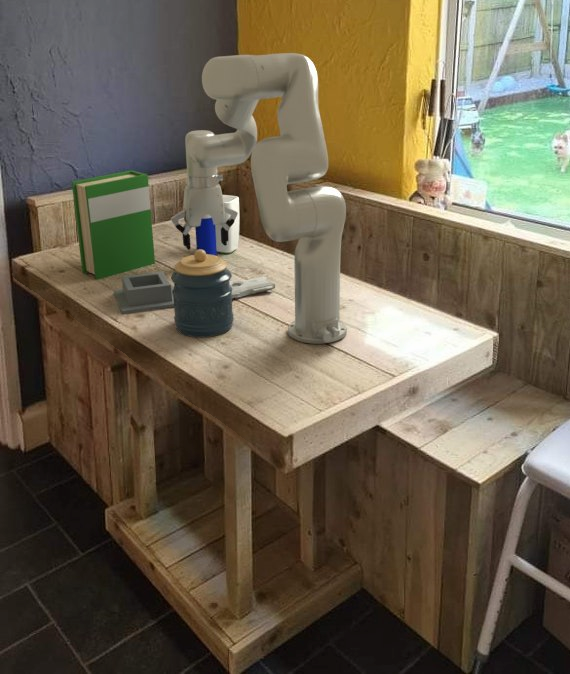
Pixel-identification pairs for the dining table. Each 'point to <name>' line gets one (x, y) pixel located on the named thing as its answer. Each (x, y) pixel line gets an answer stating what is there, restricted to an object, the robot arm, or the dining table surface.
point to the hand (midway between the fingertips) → (206, 246)
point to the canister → (202, 295)
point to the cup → (233, 232)
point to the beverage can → (206, 236)
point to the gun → (250, 286)
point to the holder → (144, 293)
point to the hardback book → (114, 223)
